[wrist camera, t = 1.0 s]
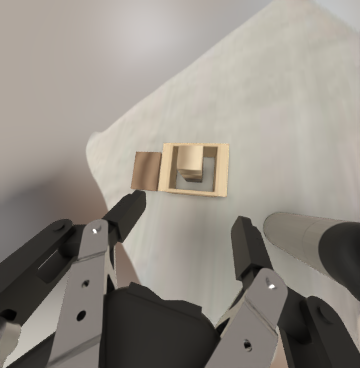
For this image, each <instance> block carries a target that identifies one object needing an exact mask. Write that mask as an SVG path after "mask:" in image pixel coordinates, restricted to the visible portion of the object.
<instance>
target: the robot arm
mask: <svg viewBox="0 0 360 368" xmlns="http://www.w3.org/2000/svg"><path fill="white" fill-rule="evenodd" d="M145 208H146V193H145V191H141V190H135V191H134V192H133V193H132V194H128V195H126V196H124V197H123V198H122V199H121V200H120V201H119V202H118V203H117V204H116V205H115V206H114V207H113V208H112V209H111V210H110V211H109V212H108V213H107V214H106V215H105V216H104V217H103V218H102V219H99V220H94V221H92V222H90V223H89V224H87V225H74V224H73V223H72V221H71V220H69V219H62V220H59V221H55V222H53V223H52V224H50V225H49V226H47V227H46V228H45V229H43V230H42V231H41V232H40V233H39V234H37V235H36V236H34V237H33V238H32V239H31V240H29V241H28V242H27V243H25V244H24V245H23V246H22V247H20V248H19V249H18V250H17V251H15V252H14V253H13V254H11V255H10V256H9V257H8V258H6V259H5V260H4V261H2V262H1V263H0V368H2V367H3V364H4V362H5V360H6V358H7V356H8V355H10V354H11V353H12V352H13V351H14V349H15V348H16V346H17V344H18V339H19V336H20V333H21V327H22V326H23V324H24V323H25V322H26V321H27V320H28V318H29V317H30V316H31V315H32V313H33V312H34V311H35V310H36V308H37V307H38V306H39V305H40V304H41V303H42V301H43V300H44V299H45V298H46V297H47V295H48V294H49V293H50V292H51V291H52V289H53V288H54V287H55V286H56V284H57V283H58V282H59V281H60V280H61V278H62V277H63V276H64V275H65V274H66V272H67V271H68V270H69V269H70V273H69V277H68V281H67V286H66V290H65V294H64V299H63V304H62V307H61V312H60V316H59V321H58V325H57V329H56V331H55V332H54V333H53V334H51V335H50V336H48V337H47V338H46V339H44V340H43V341H42V342H40V343H39V344H38V345H36V346H35V347H34V348H32V349H31V350H29V351H28V352H27V353H25V354H24V355H22V356H21V357H20V358H18V359H17V360H16V361H14V362H13V363H12V364H10V365H9V366H7V367H6V368H269V367H270V364H271V361H272V358H273V355H274V352H275V349H276V346H277V343H278V334H277V333H276V331H275V329H276V325H277V326H279V330H280V335H281V339H282V342H283V347H284V351H285V355H286V360H287V363H288V367H289V368H360V353H359V351H358V349H357V347H356V345H355V344H354V342H353V340H352V338H351V336H350V334H349V333H348V331H347V329H346V327H345V325H344V323H343V322H342V320H341V318H340V317H339V315H338V314H337V313H336V312H335V310H334V309H333V308H332V307H331V306H330V305H329V304H327V303H326V302H325V301H323V300H322V299H320V298H318V297H315V296H310V297H308V298H305V297H303V296H302V295H300V294H299V293H297V292H295V291H294V290H292V289H290V288H289V287H287V286H286V284H285V282H284V281H283V279H282V278H281V277H280V276H279V275H278V274H277V273H276V272H274V270H273V267H272V264H271V261H270V258H269V256H268V253H267V250H266V247H265V244H264V241H263V238H262V235H261V233H260V232H259V230H258V229H257V228H256V227H255V226H252V223H251V219H250V218H247V217H243V216H238V218H237V220H236V222H235V223H234V225H233V227H232V230H231V240H232V248H233V257H234V266H235V274H236V280H239V281H242V284H243V287H242V288H241V290H240V291H239V293H238V294H237V296H236V297H235V299H234V300H233V302H232V303H231V305H230V306H229V308H228V309H227V311H226V312H225V314H224V315H223V316H222V317H221V318H220V320H219V321H218V323H217V324H216V326H215V327H214V326H213V324H212V323H211V322H210V320H209V319H208V318H207V317H206V316H205V315H204V314H203V313H201V311H202V307H201V306H198V305H195V304H192V303H189V302H187V301H184V300H163V299H161V298H160V297H159V296H157V295H156V294H155V293H154V292H152V291H151V290H150V289H149V288H147V287H145V286H142V285H139V284H136V283H133V282H131V283H130V285H129V286H126V287H121V288H118V289H117V278H116V272H115V271H116V270H115V245H116V243H117V242H121V243H123V242H124V240H125V239H126V237H127V236H128V234H129V233H130V231H131V230H132V228H133V227H134V225H135V224H136V222H137V221H138V219H139V218H140V216H141V215H142V213H143V212H144V210H145ZM264 233H265V235H266V237H267V239H268V240H269V241H270V242H271V243H273V244H274V245H276V246H277V247H279V248H281V249H282V250H284V251H286V252H287V253H289V254H291V255H292V256H294V257H296V258H297V259H299V260H301V261H302V262H304V263H306V264H307V265H309V266H311V267H312V268H314V269H316V270H318V271H319V272H321V273H323V274H324V275H326V276H328V277H329V278H331V279H333V280H334V281H336V282H338V283H339V284H341V285H343V286H345V287H346V288H347V289H348V290H349V291H350V292H351V294H352V295H353V296H354V297H355V298H356V299H357V300H358V301H360V223H357V222H350V221H342V220H334V219H326V218H319V217H311V216H304V215H296V214H289V213H281V212H280V213H274V214H272V215H270V216H269V217H268V218H267V219H266V220H265V223H264ZM56 250H57V251H56ZM55 251H56V252H55ZM54 252H55V253H54ZM53 253H54V254H53ZM51 254H53V255H52V256H51ZM50 256H51V257H50ZM49 257H50V258H49ZM48 258H49V259H48ZM47 259H48V260H47ZM46 260H47V261H46ZM76 260H77V261H76ZM45 261H46V262H45ZM44 262H45V263H44ZM43 263H44V264H43ZM41 264H43V265H42V266H41ZM40 266H41V267H40ZM39 267H40V268H39ZM38 268H39V269H38Z"/></svg>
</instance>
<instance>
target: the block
mask: <svg viewBox="0 0 360 368" xmlns="http://www.w3.org/2000/svg"><path fill="white" fill-rule="evenodd" d="M176 169H177V170H178V171H179V173H180V174H181V175H182V176H183V178H184V179H185V180H186V181H188V182H202V175H203V146H185V145H179V149H178V159H177V168H176Z"/></svg>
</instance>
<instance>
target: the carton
mask: <svg viewBox="0 0 360 368" xmlns="http://www.w3.org/2000/svg"><path fill="white" fill-rule="evenodd" d="M179 145H185V146H203V157H215V164H214V179H213V192H204V191H192V190H180V189H175V186H176V176H177V169H176V168H177V159H178V149H179ZM228 158H229V144H207V143H164V146H163V154H162V163H161V171H160V179H159V188H158V191H166V192H169V193H174V194H185V195H197V196H208V197H217V196H224V197H227V177H228Z"/></svg>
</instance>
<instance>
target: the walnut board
mask: <svg viewBox="0 0 360 368" xmlns="http://www.w3.org/2000/svg"><path fill="white" fill-rule="evenodd" d="M161 158H162V154H161V152H136V156H135V163H134V170H133V177H132V184H131V189H139V190H151V191H158V183H159V174H160V166H161Z"/></svg>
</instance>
